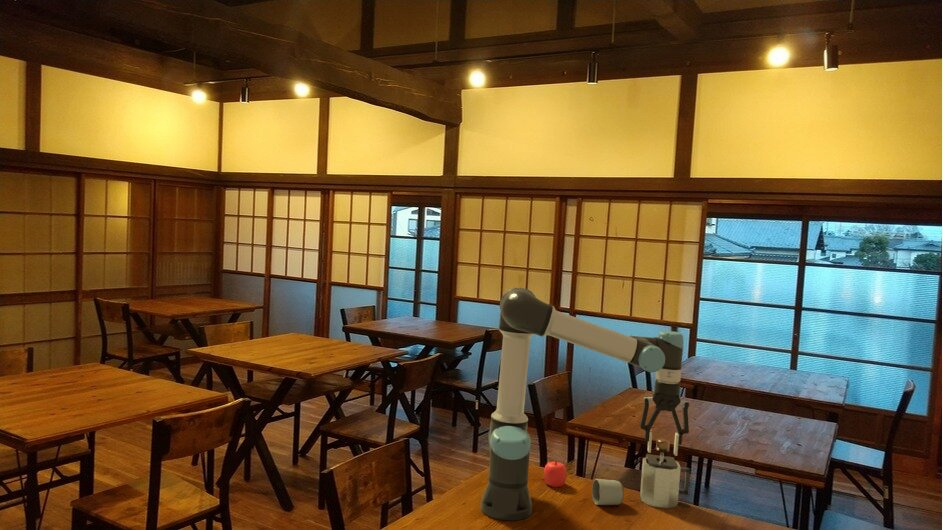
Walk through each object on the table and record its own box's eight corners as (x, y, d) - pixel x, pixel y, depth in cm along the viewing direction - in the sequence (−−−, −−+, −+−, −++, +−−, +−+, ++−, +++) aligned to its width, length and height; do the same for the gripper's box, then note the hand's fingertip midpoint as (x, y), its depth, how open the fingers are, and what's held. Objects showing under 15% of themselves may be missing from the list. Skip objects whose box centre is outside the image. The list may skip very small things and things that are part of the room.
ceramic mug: (624, 508, 202) (626, 483, 202) (599, 509, 200) (600, 484, 200) (611, 495, 212) (612, 471, 212) (587, 495, 211) (588, 471, 211)
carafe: (642, 505, 205) (645, 464, 204) (639, 492, 215) (642, 452, 215) (689, 511, 202) (692, 469, 201) (684, 497, 213) (687, 457, 212)
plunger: (647, 498, 206) (651, 443, 205) (645, 488, 213) (649, 435, 212) (672, 501, 205) (677, 445, 204) (669, 491, 212) (674, 438, 211)
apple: (538, 480, 221) (540, 456, 220) (561, 479, 223) (562, 456, 222) (547, 489, 213) (549, 465, 213) (570, 488, 215) (572, 464, 215)
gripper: (635, 380, 205) (630, 453, 206) (703, 387, 201) (697, 460, 203) (633, 375, 212) (628, 445, 214) (699, 381, 209) (693, 452, 210)
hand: (662, 452), depth 208 cm, fingers open, 7 cm apart
